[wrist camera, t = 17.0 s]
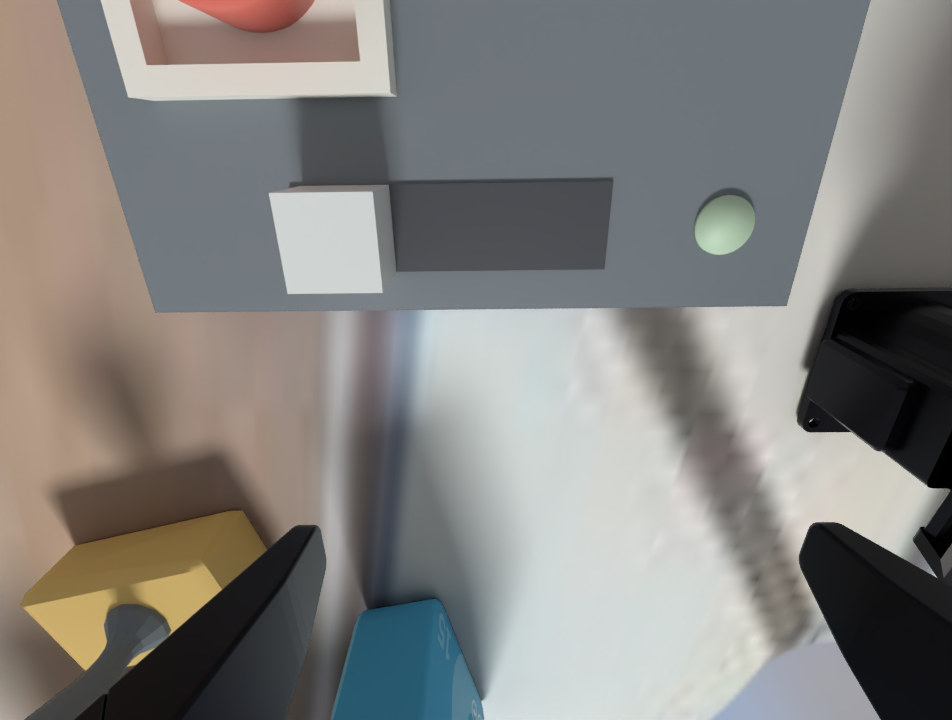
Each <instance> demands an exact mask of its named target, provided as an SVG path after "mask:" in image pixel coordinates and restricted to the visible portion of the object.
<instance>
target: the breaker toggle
mask: <svg viewBox="0 0 952 720" xmlns="http://www.w3.org/2000/svg"><path fill="white" fill-rule="evenodd" d="M269 198H270V203H271V208H272V214H273V219H274V224H275V230H276V235H277V240H278V245H279V251H280V256H281V261H282V267H283V272H284V277H285V283H286V288H287V293H288V294H335V293H383V292H384V290H385V289H386V287H387V286H388V284H389V283H390V281H391V280H392V278H393V277H394V275H395V274H396V262H395V250H394V238H393V227H392V215H391V204H390V192H389V185H324V186H297V187H293V188H289V189H284V190H280V191H275V192H271V193H269Z"/></svg>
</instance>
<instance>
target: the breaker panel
mask: <svg viewBox="0 0 952 720" xmlns="http://www.w3.org/2000/svg"><path fill="white" fill-rule="evenodd" d="M57 2H58V5H59V8H60V12H61V15H62V18H63V21H64V24H65V27H66V31H67V34H68V37H69V40H70V43H71V46H72V50H73V53H74V56H75V59H76V62H77V66H78V69H79V72H80V75H81V78H82V81H83V85H84V88H85V91H86V94H87V97H88V100H89V104H90V107H91V110H92V113H93V116H94V119H95V123H96V126H97V129H98V132H99V135H100V138H101V142H102V145H103V148H104V151H105V154H106V158H107V161H108V164H109V167H110V170H111V173H112V177H113V180H114V183H115V186H116V189H117V192H118V196H119V199H120V202H121V205H122V208H123V211H124V215H125V218H126V221H127V224H128V227H129V230H130V234H131V237H132V240H133V243H134V246H135V250H136V253H137V256H138V259H139V262H140V265H141V269H142V272H143V275H144V278H145V281H146V284H147V288H148V291H149V294H150V297H151V300H152V303H153V307H154V310H155V313H159V312H255V311H351V310H447V309H543V308H639V307H735V306H787V302H788V299H789V295H790V291H791V288H792V284H793V281H794V277H795V273H796V270H797V266H798V262H799V259H800V255H801V251H802V248H803V244H804V240H805V237H806V233H807V230H808V226H809V222H810V219H811V215H812V211H813V208H814V204H815V200H816V197H817V193H818V190H819V186H820V182H821V179H822V175H823V171H824V168H825V164H826V160H827V157H828V153H829V149H830V146H831V142H832V139H833V135H834V131H835V128H836V124H837V120H838V117H839V113H840V109H841V106H842V102H843V98H844V95H845V91H846V88H847V84H848V80H849V77H850V73H851V69H852V66H853V62H854V58H855V55H856V51H857V47H858V44H859V40H860V37H861V33H862V29H863V26H864V22H865V18H866V15H867V11H868V7H869V4H870V0H315V1H314V3H313V4H312V6H311V7H310V8H309V10H308V11H307V12H306V13H305V14H304V15H303V16H302V17H301V18H300V19H299V20H298V21H296V22H295V23H294V24H292V25H291V26H289V27H286V28H284V29H282V30H278V31H275V32H269V33H253V32H248V31H244V30H241V29H238V28H235V27H233V26H231V25H229V24H226V23H224V22H222V21H220V20H218V19H216V18H214V17H212V16H210V15H208V14H206V13H203V12H201V11H199V10H197V9H195V8H193V7H191V6H189V5H187V4H185V3H183V2H180V1H178V0H57ZM324 185H389V192H390V204H391V215H392V227H393V238H394V250H395V262H396V274H395V275H394V277H393V278H392V280H391V281H390V283H389V284H388V286H387V287H386V289H385V290H384V292H383V293H335V294H288V293H287V288H286V283H285V277H284V272H283V267H282V261H281V256H280V251H279V245H278V240H277V235H276V230H275V224H274V219H273V214H272V208H271V203H270V198H269V193H271V192H275V191H280V190H284V189H289V188H293V187H297V186H324Z"/></svg>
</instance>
